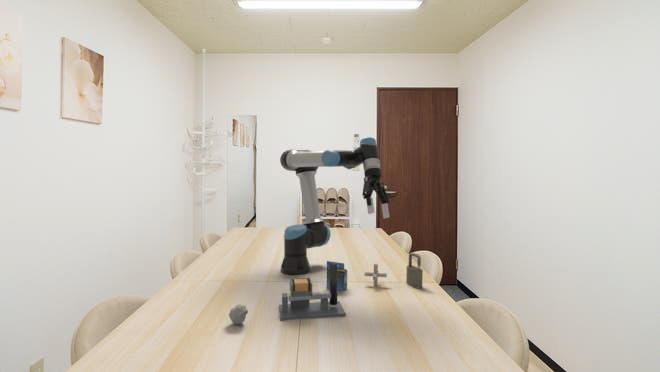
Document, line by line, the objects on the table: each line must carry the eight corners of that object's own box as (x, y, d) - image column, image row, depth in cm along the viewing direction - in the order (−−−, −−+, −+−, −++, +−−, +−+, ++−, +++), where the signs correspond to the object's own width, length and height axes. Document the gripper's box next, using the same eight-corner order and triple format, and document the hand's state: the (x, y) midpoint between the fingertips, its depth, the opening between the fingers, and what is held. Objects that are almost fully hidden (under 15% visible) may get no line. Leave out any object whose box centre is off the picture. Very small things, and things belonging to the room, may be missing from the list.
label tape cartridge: (347, 288, 161) (347, 261, 161) (344, 290, 158) (344, 263, 157) (329, 285, 165) (330, 258, 164) (326, 287, 162) (326, 260, 161)
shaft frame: (280, 320, 127) (280, 287, 127) (278, 307, 139) (278, 277, 138) (345, 316, 132) (346, 284, 131) (339, 303, 143) (339, 274, 143)
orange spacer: (294, 296, 131) (294, 283, 131) (293, 292, 136) (293, 279, 136) (308, 296, 132) (308, 282, 132) (306, 291, 137) (306, 278, 137)
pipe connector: (385, 289, 159) (386, 267, 159) (363, 288, 161) (363, 266, 161) (386, 282, 169) (387, 261, 168) (365, 281, 171) (366, 260, 170)
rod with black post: (289, 308, 132) (289, 267, 131) (288, 304, 135) (288, 264, 134) (338, 304, 136) (338, 264, 135) (336, 301, 139) (336, 262, 138)
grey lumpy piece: (239, 330, 120) (239, 309, 120) (225, 324, 124) (224, 305, 123) (252, 323, 125) (252, 303, 125) (238, 318, 129) (237, 299, 128)
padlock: (416, 288, 161) (417, 256, 160) (405, 283, 168) (405, 251, 167) (423, 287, 163) (424, 255, 162) (411, 282, 170) (412, 251, 169)
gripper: (365, 160, 149) (372, 208, 142) (392, 174, 169) (399, 217, 162) (350, 165, 153) (356, 213, 146) (378, 178, 173) (385, 221, 166)
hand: (379, 215), depth 154 cm, fingers open, 13 cm apart
